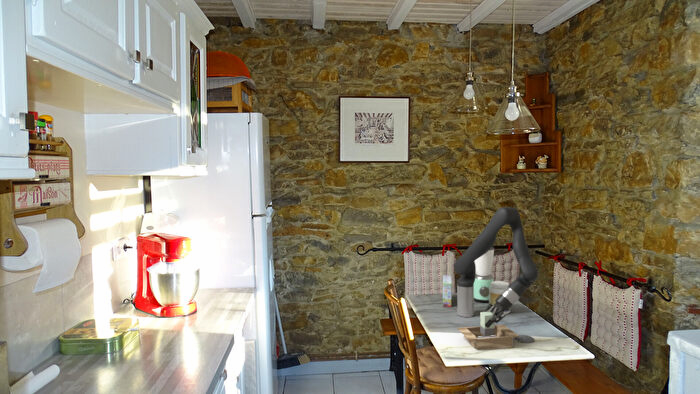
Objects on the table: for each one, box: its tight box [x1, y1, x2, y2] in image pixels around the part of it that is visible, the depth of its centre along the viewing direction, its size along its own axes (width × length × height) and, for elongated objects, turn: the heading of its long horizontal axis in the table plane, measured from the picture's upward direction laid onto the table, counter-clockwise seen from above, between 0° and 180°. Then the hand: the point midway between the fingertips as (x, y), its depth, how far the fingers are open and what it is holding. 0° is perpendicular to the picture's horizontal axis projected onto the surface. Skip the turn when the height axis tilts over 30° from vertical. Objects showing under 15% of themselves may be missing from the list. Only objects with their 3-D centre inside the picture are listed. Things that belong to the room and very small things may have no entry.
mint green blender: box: [474, 246, 495, 303], centre depth 279 cm, size 19×13×35 cm
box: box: [479, 311, 496, 337], centre depth 212 cm, size 5×5×10 cm
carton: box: [457, 324, 520, 351], centre depth 212 cm, size 16×25×5 cm, turn 97°
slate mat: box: [513, 334, 535, 344], centre depth 214 cm, size 9×9×1 cm
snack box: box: [442, 275, 453, 308], centre depth 276 cm, size 21×6×15 cm, turn 168°
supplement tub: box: [488, 280, 512, 315], centre depth 257 cm, size 12×12×17 cm
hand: (483, 324), depth 212 cm, fingers closed on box, 5 cm apart
